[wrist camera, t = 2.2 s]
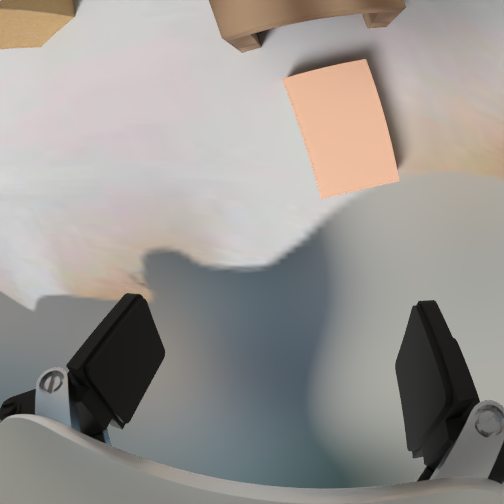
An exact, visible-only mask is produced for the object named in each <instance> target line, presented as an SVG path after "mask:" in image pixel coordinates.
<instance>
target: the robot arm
mask: <svg viewBox="0 0 504 504" xmlns="http://www.w3.org/2000/svg"><path fill="white" fill-rule="evenodd" d="M164 356H165V349H164V347H163V344H162V342H161V339H160V336H159V334H158V331H157V328H156V326H155V323H154V320H153V318H152V315H151V312H150V310H149V307H148V304H147V301H146V300H145V299H144V298H143V297H142V295H140V294H130V293H127V294H125V295H124V296H123V297H122V298H121V300H120V301H119V302H118V303H117V304H116V305H115V306H114V308H113V309H112V310H111V311H110V312H109V313H108V315H107V316H106V317H105V318H104V319H103V321H102V322H101V323H100V324H99V325H98V327H97V328H96V329H95V330H94V332H93V333H92V334H91V335H90V336H89V338H88V339H87V340H86V341H85V342H84V344H83V345H82V346H81V347H80V349H79V350H78V351H77V352H76V354H75V355H74V356H73V358H72V359H71V360H70V361H69V363H68V364H67V367H68V369H69V372H68V373H66V371H65V370H64V369H62V368H57V367H56V368H51V369H49V370H47V371H45V372H44V373H43V374H42V375H41V376H40V377H39V379H38V381H37V385H36V389H34V390H31V391H28V392H25V393H22V394H19V395H17V396H13V397H11V398H9V399H7V400H6V401H4V403H3V404H2V406H1V408H0V504H504V408H503V406H502V405H500V404H499V403H497V402H495V401H492V400H485V401H482V402H480V401H479V397H478V394H477V391H476V389H475V386H474V383H473V380H472V378H471V375H470V372H469V369H468V367H467V364H466V362H465V359H464V357H463V355H462V352H461V350H460V347H459V345H458V343H457V341H456V339H454V338H453V337H452V335H451V333H450V330H449V328H448V326H447V324H446V322H445V319H444V317H443V315H442V313H441V311H440V309H439V307H438V305H437V303H436V301H434V300H430V301H419V302H418V303H417V305H416V306H413V307H412V310H411V314H410V318H409V321H408V325H407V328H406V331H405V335H404V338H403V341H402V344H401V347H400V351H399V354H398V357H397V360H396V364H395V369H396V375H397V380H398V386H399V391H400V398H401V404H402V410H403V417H404V424H405V432H406V440H407V448H408V450H409V451H412V453H413V458H418V457H424V464H425V466H424V468H423V469H422V471H421V472H420V474H419V475H418V476H417V478H416V479H415V480H414V482H410V483H403V484H396V485H388V486H377V487H363V488H345V489H306V488H287V487H275V486H274V487H273V486H264V485H256V484H249V483H242V482H235V481H230V480H224V479H219V478H214V477H209V476H205V475H200V474H196V473H192V472H188V471H184V470H180V469H176V468H173V467H169V466H166V465H163V464H159V463H156V462H153V461H150V460H147V459H144V458H141V457H138V456H136V455H132V454H130V453H127V452H125V451H122V450H120V449H117V448H114V447H112V445H111V441H110V437H109V433H108V429H107V427H108V425H109V423H110V424H111V425H112V426H114V427H117V428H120V429H123V427H124V425H125V424H126V423H129V421H130V420H131V418H132V416H133V414H134V413H135V411H136V409H137V407H138V405H139V403H140V401H141V399H142V397H143V396H144V394H145V392H146V390H147V388H148V386H149V385H150V383H151V381H152V379H153V377H154V375H155V374H156V371H157V370H158V368H159V366H160V364H161V363H162V361H163V359H164Z"/></svg>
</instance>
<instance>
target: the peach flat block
mask: <svg viewBox="0 0 504 504" xmlns="http://www.w3.org/2000/svg"><path fill="white" fill-rule="evenodd" d="M282 80H283V83H284V85H285V88H286V91H287V93H288V96H289V99H290V102H291V105H292V107H293V110H294V113H295V116H296V119H297V122H298V125H299V128H300V131H301V134H302V137H303V140H304V143H305V146H306V149H307V152H308V155H309V158H310V162H311V165H312V168H313V172H314V175H315V178H316V182H317V185H318V189H319V192H320V196H321V199H323V198H327V197H332V196H336V195H340V194H344V193H348V192H353V191H357V190H361V189H366V188H370V187H375V186H379V185H384V184H388V183H393V182H397V181H399V176H398V171H397V166H396V161H395V157H394V152H393V148H392V143H391V139H390V135H389V131H388V127H387V124H386V120H385V116H384V113H383V109H382V106H381V102H380V99H379V96H378V93H377V90H376V86H375V83H374V80H373V77H372V75H371V72H370V69H369V66H368V63H367V61H366V59H363V60H357V61H352V62H347V63H342V64H337V65H333V66H328V67H324V68H320V69H316V70H312V71H308V72H304V73H301V74H297V75H293V76H290V77H287V78H283V79H282Z"/></svg>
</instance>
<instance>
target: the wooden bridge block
mask: <svg viewBox="0 0 504 504" xmlns="http://www.w3.org/2000/svg"><path fill="white" fill-rule="evenodd" d="M209 2H210V5H211V8H212V11H213V13H214V16H215V19H216V22H217V25H218V28H219V31H220V34H221V37H222V38H223V39H224V40H225V41H227V42H228V43H230V44H231V45H232V46H234V47H235V48H236V49H238V50H239V51H241V52H242V53H243V52H246V51H249V50H253V49H256V48H260V47H261V45H260V42H259V39H258V36H257V32H261V31H264V30H268V29H272V28H276V27H280V26H285V25H289V24H294V23H299V22H304V21H309V20H315V19H321V18H327V17H334V16H342V15H352V14H363V17H364V19H365V22H366V25H367V27H368V28H376V27H386V26H387V25H388V24H389V23H390V22H391V21H392V20H393V19H394V18H395V17H396V16H397V15H398V14H399V13H400V12H401V11H402V10H403V9H404V8H405V7H406V6H405V4H404V1H403V0H209Z"/></svg>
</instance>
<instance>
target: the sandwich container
mask: <svg viewBox="0 0 504 504" xmlns="http://www.w3.org/2000/svg"><path fill="white" fill-rule="evenodd" d="M74 17H75V12H74V2H73V0H1V1H0V49H9V48H27V47H41V46H42V45H43V44H44V43H45V42H46V41H47V40H49V39H50V38H51V37H52V36H53V35H54V34H55V33H56V32H57V31H59V30H60V29H61V28H62V27H63V26H64V25H65V24H67V23H68V22H69V21H70V20H71V19H73V18H74Z"/></svg>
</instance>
